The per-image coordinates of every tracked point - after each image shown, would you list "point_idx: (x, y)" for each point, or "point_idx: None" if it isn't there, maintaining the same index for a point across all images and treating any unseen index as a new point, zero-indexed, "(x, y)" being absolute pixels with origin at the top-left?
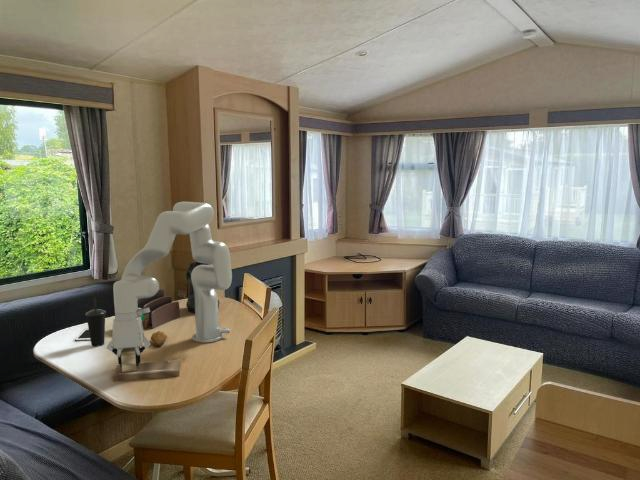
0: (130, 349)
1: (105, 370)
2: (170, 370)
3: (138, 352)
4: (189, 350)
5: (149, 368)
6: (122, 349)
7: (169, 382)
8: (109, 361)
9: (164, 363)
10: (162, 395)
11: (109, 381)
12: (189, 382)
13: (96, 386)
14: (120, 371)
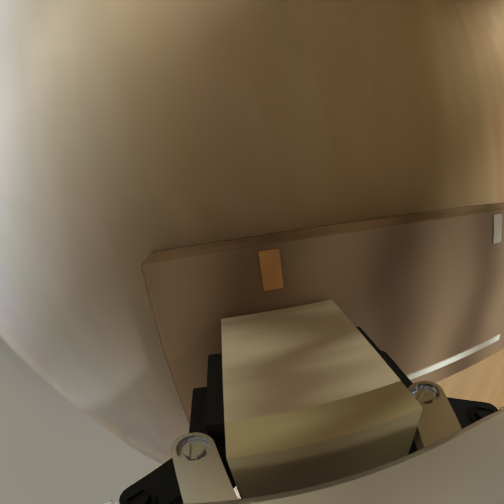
0: None
1: (70, 249)
2: (487, 349)
3: (413, 450)
4: (495, 21)
5: (409, 336)
6: (241, 491)
7: (455, 392)
8: (49, 86)
9: (480, 258)
10: None
11: (174, 409)
12: (500, 377)
13: (137, 443)
14: None
